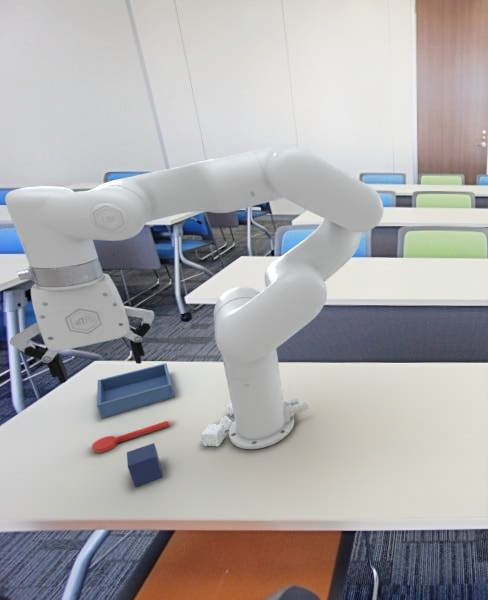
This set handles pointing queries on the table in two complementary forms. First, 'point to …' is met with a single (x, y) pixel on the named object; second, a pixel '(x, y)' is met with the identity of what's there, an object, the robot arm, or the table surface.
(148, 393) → the blue tray
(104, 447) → the red spoon
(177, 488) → the table surface
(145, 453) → the blue block
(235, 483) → the table surface
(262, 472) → the table surface
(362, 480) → the table surface
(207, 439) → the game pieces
